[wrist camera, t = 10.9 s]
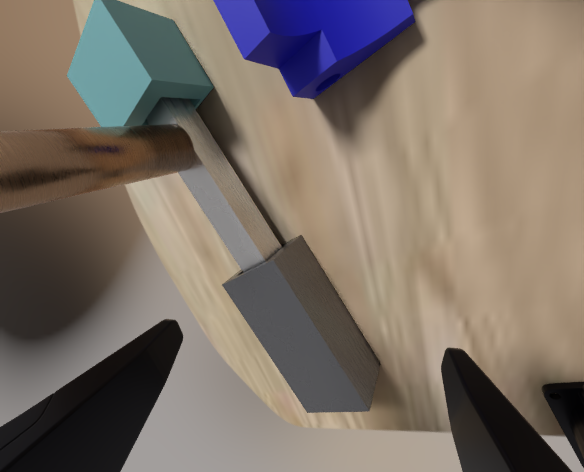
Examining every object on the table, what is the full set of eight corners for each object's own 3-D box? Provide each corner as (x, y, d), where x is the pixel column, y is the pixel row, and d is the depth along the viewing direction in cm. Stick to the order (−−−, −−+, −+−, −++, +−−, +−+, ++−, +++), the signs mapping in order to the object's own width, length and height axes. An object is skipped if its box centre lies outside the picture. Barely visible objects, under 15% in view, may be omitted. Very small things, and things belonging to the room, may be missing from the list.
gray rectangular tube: (380, 363, 21) (369, 411, 18) (325, 370, 24) (307, 412, 21) (301, 234, 20) (273, 259, 17) (253, 259, 23) (222, 284, 20)
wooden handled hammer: (305, 278, 21) (159, 462, 10) (278, 289, 22) (126, 456, 11) (170, 62, 19) (-197, -8, 8) (151, 92, 20) (-172, 68, 10)
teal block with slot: (213, 86, 19) (151, 79, 15) (172, 137, 22) (112, 143, 18) (172, 20, 18) (96, -7, 14) (136, 82, 22) (66, 75, 18)
